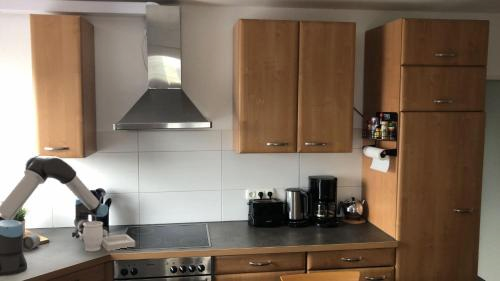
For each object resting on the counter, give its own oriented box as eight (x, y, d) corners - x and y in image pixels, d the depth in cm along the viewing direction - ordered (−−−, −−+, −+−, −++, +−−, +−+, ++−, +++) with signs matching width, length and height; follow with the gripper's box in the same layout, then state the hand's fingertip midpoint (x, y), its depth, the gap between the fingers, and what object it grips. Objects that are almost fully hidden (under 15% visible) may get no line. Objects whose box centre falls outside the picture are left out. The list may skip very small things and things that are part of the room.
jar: (106, 248, 246) (107, 222, 245) (93, 253, 236) (93, 226, 235) (92, 245, 250) (92, 219, 249) (78, 250, 241) (78, 223, 240)
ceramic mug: (41, 246, 247) (41, 232, 246) (34, 250, 239) (33, 236, 238) (23, 245, 247) (22, 232, 247) (15, 250, 239) (14, 236, 238)
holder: (107, 251, 241) (107, 245, 240) (100, 243, 254) (100, 237, 254) (135, 247, 249) (135, 241, 249) (126, 239, 263) (126, 234, 262)
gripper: (106, 230, 265) (116, 239, 247) (63, 236, 251) (70, 245, 234) (106, 218, 264) (117, 226, 247) (63, 223, 251) (70, 232, 233)
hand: (94, 235), depth 240 cm, fingers open, 13 cm apart
